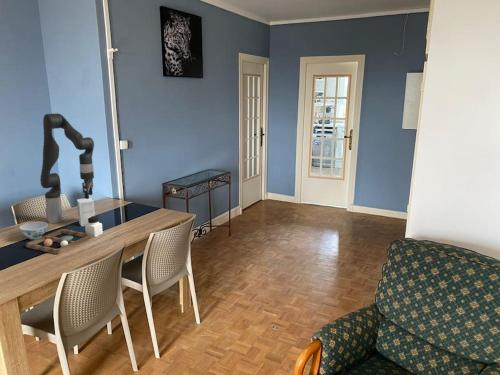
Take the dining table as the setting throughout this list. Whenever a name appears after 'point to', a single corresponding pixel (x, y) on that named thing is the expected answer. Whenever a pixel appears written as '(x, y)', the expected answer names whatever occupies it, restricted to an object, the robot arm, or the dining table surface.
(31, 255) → the dining table surface
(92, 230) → the medicine bottle
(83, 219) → the supplement box
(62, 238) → the felt pad
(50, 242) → the terracotta ball
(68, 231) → the dark wooden tray
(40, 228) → the chinaware
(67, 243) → the off-white ball
